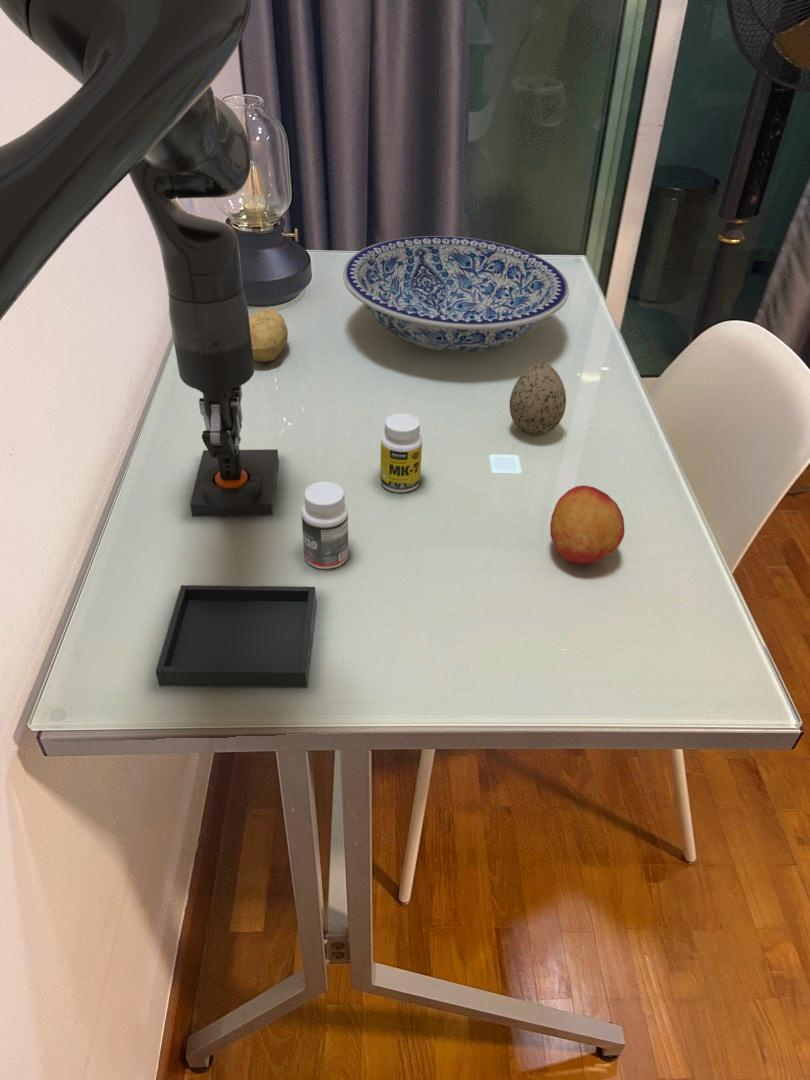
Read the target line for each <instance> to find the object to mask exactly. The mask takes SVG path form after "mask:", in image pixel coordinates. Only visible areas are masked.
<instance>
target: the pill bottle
mask: <svg viewBox="0 0 810 1080" xmlns="http://www.w3.org/2000/svg"><path fill="white" fill-rule="evenodd" d="M301 526H302V542H303V556H304V559H305V561H306V562H307V563H308V564H309V565H310V566H311V567H314V568H316V569H321V570H322V569H324V570H329V569H335V568H337V567H340V566H341V565H343V564H344V563H345V562H346V561H347V559H348V558H349V553H350V552H349V551H350V550H349V549H350V548H349V510H348V507H347V505H346V499H345V490H344V489H343V487H342V486H341V485H339V484H338V483H335V482H332V481H319V482H315V483H312V484H311V485H309V486H308V487H307V488H306V489H305V490H304V504H303V506H302V508H301Z"/></svg>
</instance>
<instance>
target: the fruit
mask: <svg viewBox="0 0 810 1080" xmlns="http://www.w3.org/2000/svg"><path fill="white" fill-rule="evenodd" d="M549 530H550V536H551V540H552V544H553V546H554V548H555V549H556V550H557V552H558V553H559V555H560V556H561V557H562V558H563V559H564V560H565V561H567V562H569V563H571V564H575V565H589V564H592V563H596V562H598V561H601V560H603V559H604V558H606V557H608V556H609V555H611V554H612V553H613V552H615V551H616V550H617V549H618V547H619V546H620V545H621V543H622V541H623V539H624V537H625V531H626V530H625V520H624V516H623V513H622V510H621V509H620V507H619V505H618V503H617V502H616V501H615V500H614V499H612V497H611V496H610V495H609V494H608V493H606V492H604V491H603V490H600V489H598V488H597V487H595V486H589V485H585V484H584V485H575V486H574V487H572V488H570V489H569V490H567V491H566V492H565V493H564V494H563V495H562V496H560V497H559V499H558V500H557V502H556V504H555V506H554V509H553V511H552V514H551V518H550V525H549Z"/></svg>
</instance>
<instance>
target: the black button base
mask: <svg viewBox="0 0 810 1080" xmlns="http://www.w3.org/2000/svg"><path fill="white" fill-rule="evenodd" d="M239 451H240V459H241V467H242V469H243V470H244V471H246V473H247V476H248V482H247V483H246V484H245V485H244V486H241V487H238V488H235V489H223V488H221V487H218V486H216V482H215V476H216V474H217V473H218V472H219V471H220V470H219V463H218V458H212V456H211V454H210V453H209V451H208V449H203V450H202V453H201V458H200V462H199V466H198V470H197V473H196V477H195V478H196V479H195V483H194V487H193V491H192V496H191V499H190V503H189V506H190V512H191V517H231V516H232V517H233V516H235V517H236V516H237V517H238V516H239V517H240V516H273V514H274V505H275V494H276V486H277V479H278V469H279V449H239Z"/></svg>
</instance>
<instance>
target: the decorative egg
mask: <svg viewBox="0 0 810 1080" xmlns="http://www.w3.org/2000/svg"><path fill="white" fill-rule="evenodd" d="M566 407H567V394H566V388H565V385H564V383H563V380H562V377H560V375H559V373H558V372H557V370H556V369H555V368H554V367H553V366H552V365H551V364H549V363H548V362H545V361H540V362H536V363H534V364H533V365H532V366H529V368H528V369H526V370H525V371H524V372H523V373H522V374H521V375H520V377H519V378H518V379H517V381H516V382H515V384H514V386H513V388H512V390H511V394H510V397H509V413H510V417H511V420H512V422H513V424H514V425H515V426H516V428H517V429H518V430H519V431H520V432H522V433H524V434H525V435H529V436H533V437H535V436H536V437H537V436H539V437H540V436H543V435H546V434H549V433H550V432H551V431H553V430H554V429H556V428H557V426H559V424H560V423H561V421H562V419H563V418H564V414H565V413H566Z"/></svg>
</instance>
